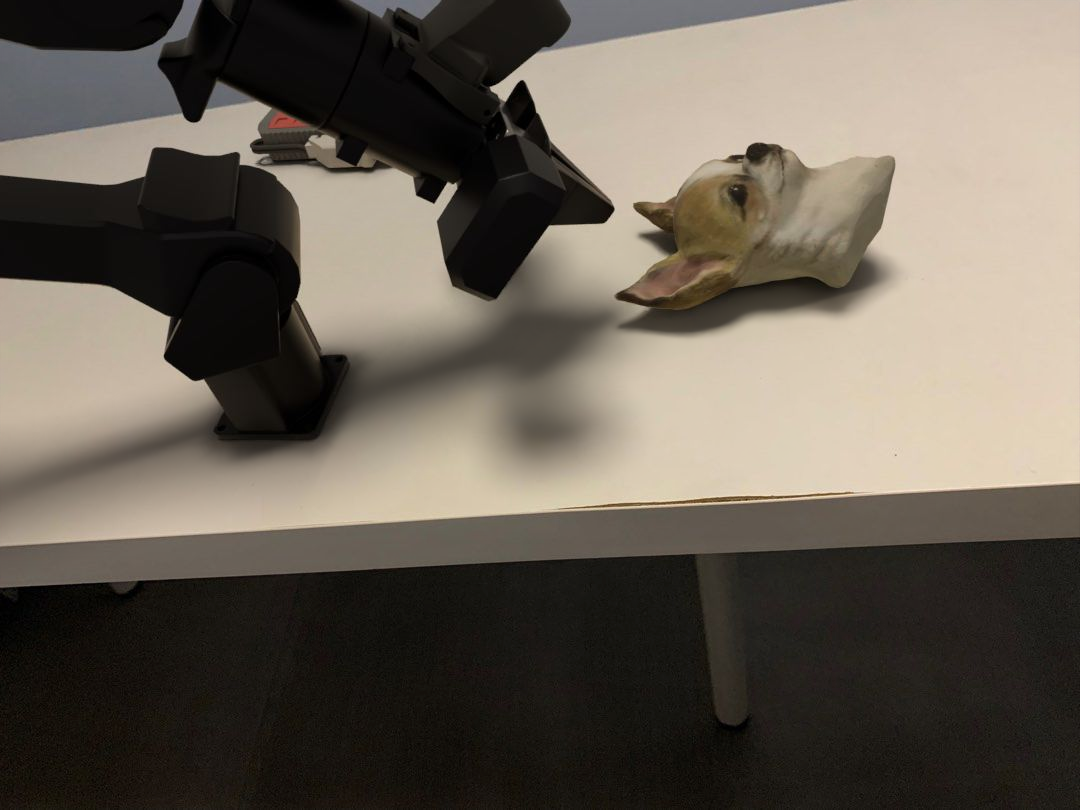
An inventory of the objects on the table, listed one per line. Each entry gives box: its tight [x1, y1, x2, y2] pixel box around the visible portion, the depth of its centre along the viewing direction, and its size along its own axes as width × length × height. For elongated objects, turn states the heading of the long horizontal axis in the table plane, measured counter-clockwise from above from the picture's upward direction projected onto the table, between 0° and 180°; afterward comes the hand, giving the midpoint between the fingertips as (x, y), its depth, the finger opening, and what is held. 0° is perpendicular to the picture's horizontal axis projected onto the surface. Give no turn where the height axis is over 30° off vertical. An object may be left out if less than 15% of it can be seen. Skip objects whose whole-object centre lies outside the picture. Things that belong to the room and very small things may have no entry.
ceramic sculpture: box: [613, 141, 896, 311], centre depth 48 cm, size 11×9×15 cm
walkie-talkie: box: [249, 108, 378, 169], centre depth 70 cm, size 9×4×20 cm
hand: (608, 213), depth 46 cm, fingers closed
